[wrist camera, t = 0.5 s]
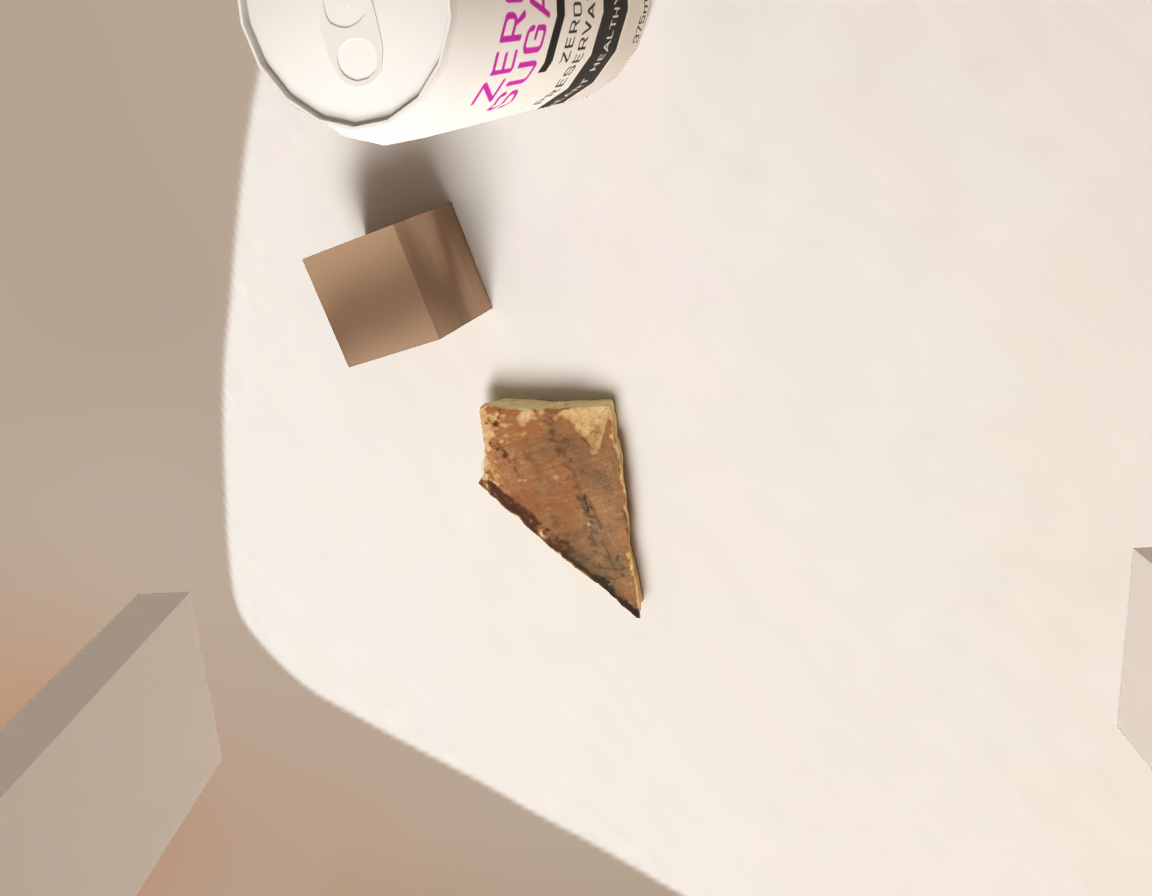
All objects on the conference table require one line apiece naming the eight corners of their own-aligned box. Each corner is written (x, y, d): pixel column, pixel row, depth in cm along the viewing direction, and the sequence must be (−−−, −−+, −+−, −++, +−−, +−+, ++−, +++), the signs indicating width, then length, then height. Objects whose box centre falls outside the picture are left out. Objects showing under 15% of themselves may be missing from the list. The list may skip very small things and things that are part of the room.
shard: (650, 603, 52) (638, 622, 50) (510, 591, 55) (494, 608, 53) (625, 393, 48) (611, 407, 46) (476, 392, 51) (459, 405, 49)
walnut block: (366, 234, 50) (302, 259, 45) (452, 201, 47) (392, 224, 43) (407, 334, 51) (348, 367, 47) (493, 307, 48) (439, 339, 44)
